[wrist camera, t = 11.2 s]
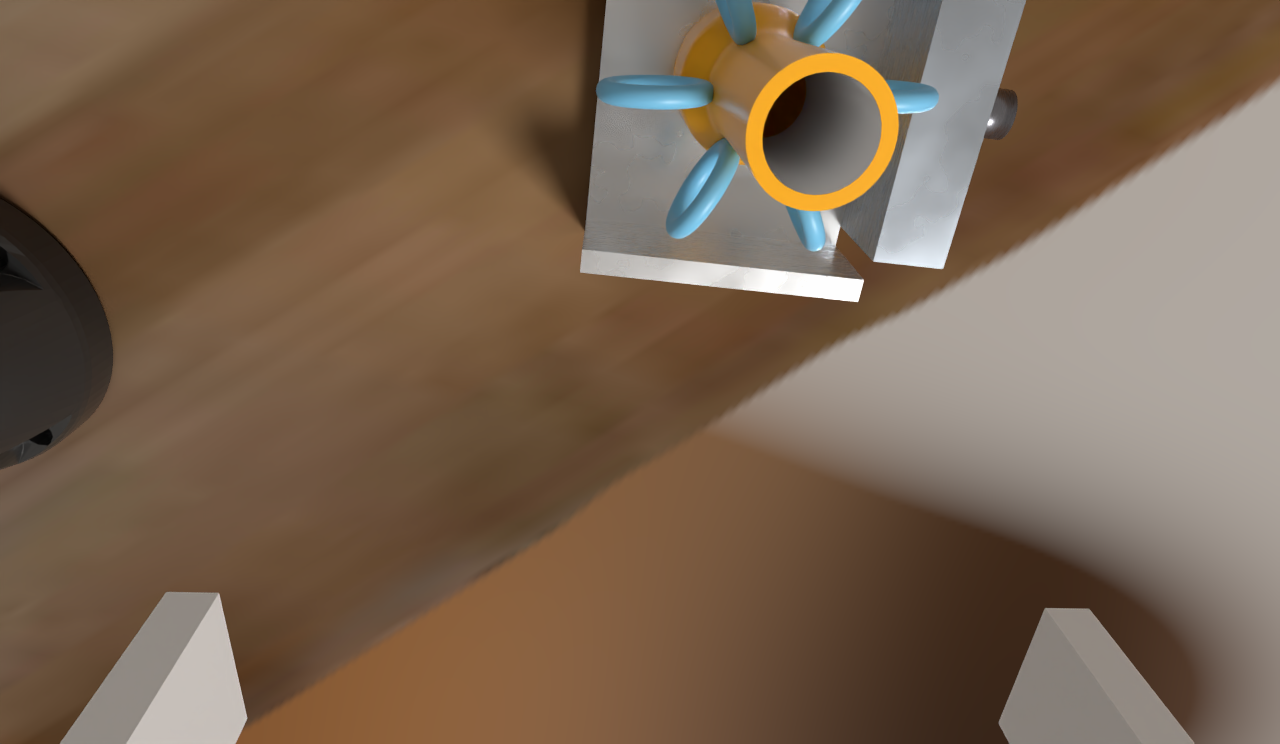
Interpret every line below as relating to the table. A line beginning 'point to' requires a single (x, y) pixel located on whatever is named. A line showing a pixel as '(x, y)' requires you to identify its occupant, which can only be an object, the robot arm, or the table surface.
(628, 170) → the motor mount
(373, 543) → the table surface
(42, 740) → the table surface
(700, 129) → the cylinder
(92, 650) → the table surface
